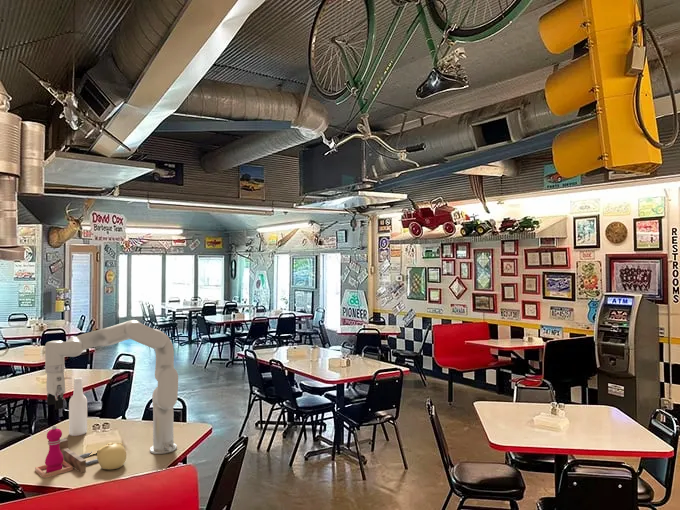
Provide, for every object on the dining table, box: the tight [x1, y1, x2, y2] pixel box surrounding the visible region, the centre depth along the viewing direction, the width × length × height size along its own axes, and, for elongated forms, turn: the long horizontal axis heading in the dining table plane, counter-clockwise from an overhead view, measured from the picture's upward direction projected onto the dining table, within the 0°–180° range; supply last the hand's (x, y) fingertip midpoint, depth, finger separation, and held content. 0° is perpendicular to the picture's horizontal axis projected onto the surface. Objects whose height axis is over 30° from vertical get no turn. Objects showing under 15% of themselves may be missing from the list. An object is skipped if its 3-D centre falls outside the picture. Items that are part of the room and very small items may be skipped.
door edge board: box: [59, 437, 87, 474], centre depth 231 cm, size 28×4×8 cm, turn 48°
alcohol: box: [68, 376, 88, 437], centre depth 272 cm, size 9×9×30 cm
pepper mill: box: [44, 425, 64, 473], centre depth 224 cm, size 7×7×20 cm
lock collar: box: [34, 460, 74, 479], centre depth 223 cm, size 12×12×2 cm
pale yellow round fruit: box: [96, 442, 127, 470], centre depth 227 cm, size 11×12×11 cm
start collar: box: [78, 451, 99, 467], centre depth 235 cm, size 12×12×2 cm
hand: (55, 406), depth 224 cm, fingers open, 9 cm apart
